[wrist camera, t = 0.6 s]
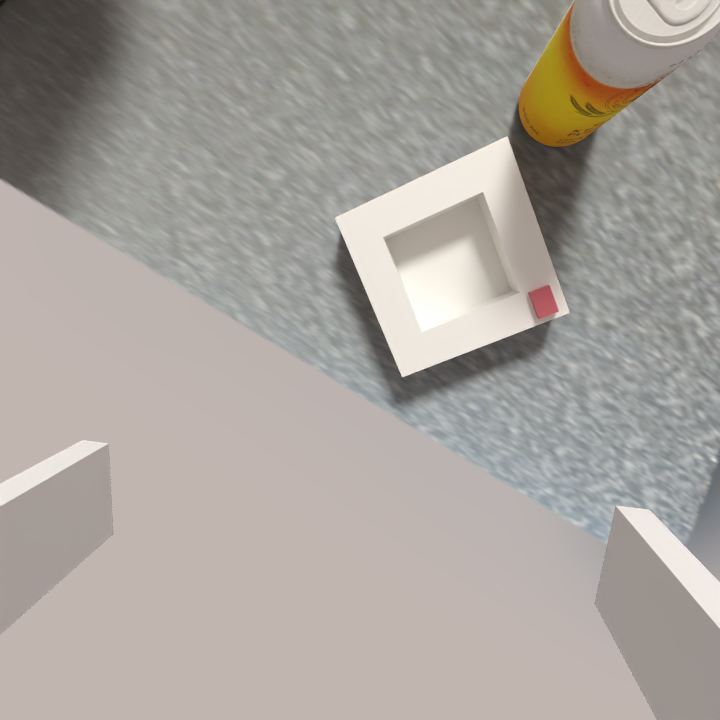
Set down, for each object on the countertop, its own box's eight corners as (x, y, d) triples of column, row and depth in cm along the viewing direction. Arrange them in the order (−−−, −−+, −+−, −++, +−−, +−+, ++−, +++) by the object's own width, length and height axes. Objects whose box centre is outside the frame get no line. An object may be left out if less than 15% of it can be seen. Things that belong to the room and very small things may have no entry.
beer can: (560, 167, 33) (674, 89, 19) (498, 114, 33) (565, -6, 19) (621, 95, 32) (796, -50, 17) (557, 39, 32) (680, -154, 17)
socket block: (342, 222, 36) (333, 216, 32) (497, 149, 34) (509, 133, 30) (403, 367, 38) (402, 379, 34) (554, 308, 35) (572, 313, 31)
